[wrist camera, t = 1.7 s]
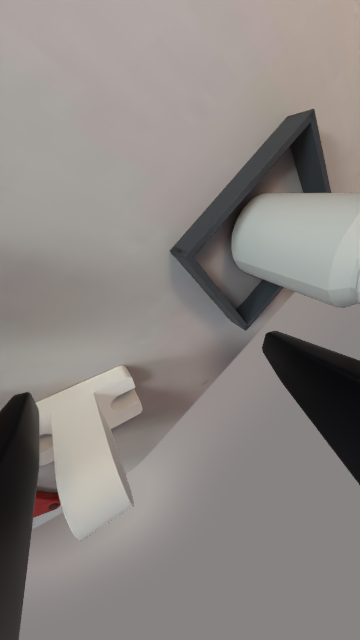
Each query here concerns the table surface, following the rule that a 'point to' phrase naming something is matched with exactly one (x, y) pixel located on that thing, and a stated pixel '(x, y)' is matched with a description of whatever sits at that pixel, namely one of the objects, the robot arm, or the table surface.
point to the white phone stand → (88, 448)
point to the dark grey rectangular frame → (312, 174)
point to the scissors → (45, 503)
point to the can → (303, 243)
